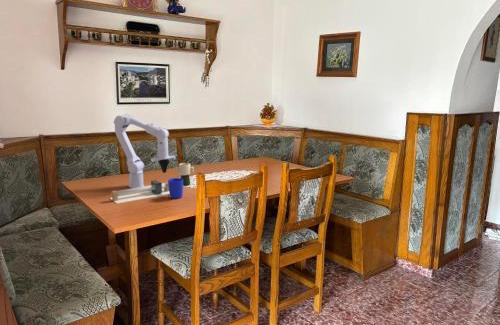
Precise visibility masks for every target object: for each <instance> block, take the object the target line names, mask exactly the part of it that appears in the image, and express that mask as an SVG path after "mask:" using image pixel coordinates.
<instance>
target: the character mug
mask: <svg viewBox="0 0 500 325" xmlns="http://www.w3.org/2000/svg"><path fill="white" fill-rule="evenodd" d="M175 171H176V173H178V174H179V175H180V178H181V179H183V186H187V185H191V178H190V174H191V173H194V172H195V167H194V166H191V163H188V162H181V163H179V164H178V166H176V167H175Z"/></svg>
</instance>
